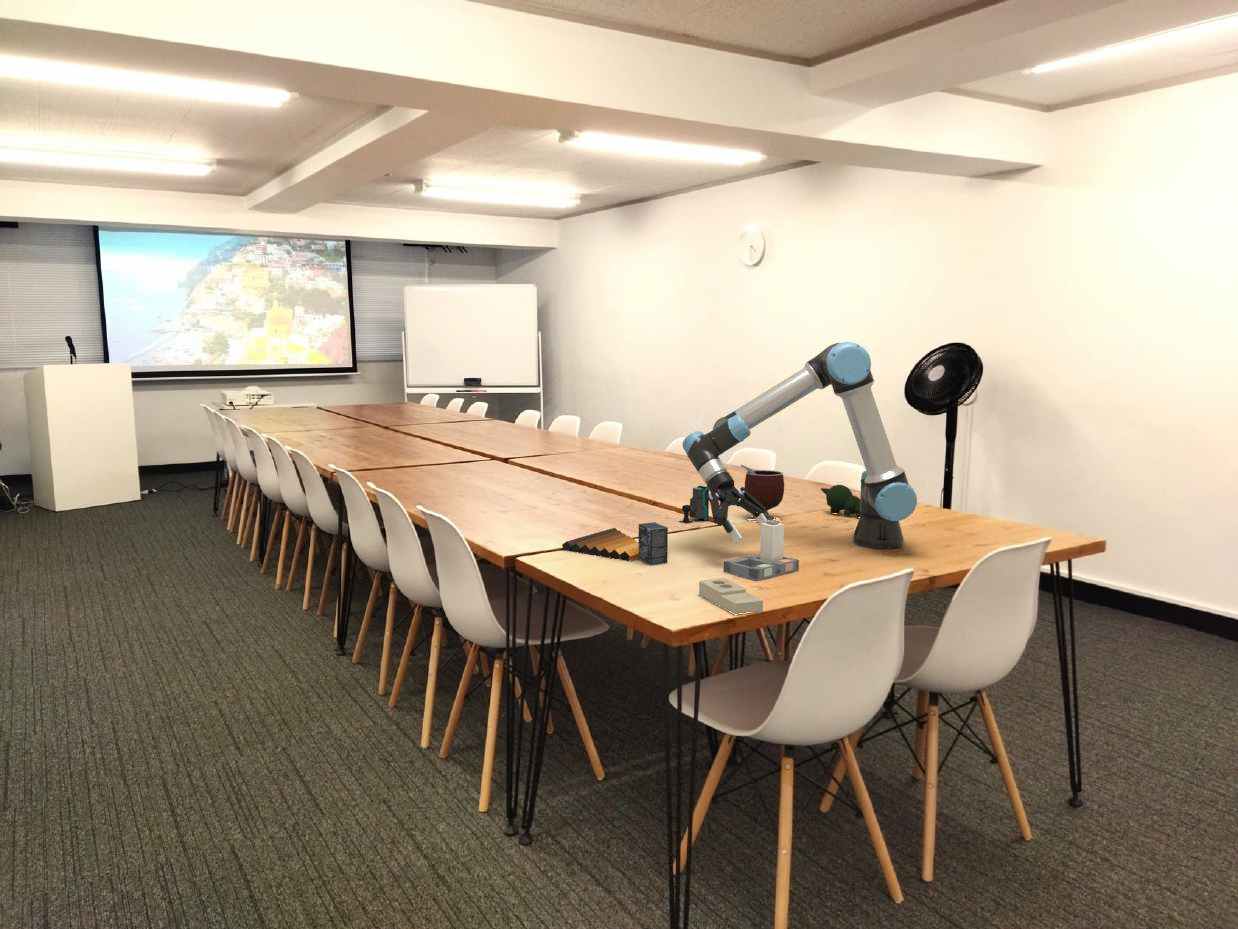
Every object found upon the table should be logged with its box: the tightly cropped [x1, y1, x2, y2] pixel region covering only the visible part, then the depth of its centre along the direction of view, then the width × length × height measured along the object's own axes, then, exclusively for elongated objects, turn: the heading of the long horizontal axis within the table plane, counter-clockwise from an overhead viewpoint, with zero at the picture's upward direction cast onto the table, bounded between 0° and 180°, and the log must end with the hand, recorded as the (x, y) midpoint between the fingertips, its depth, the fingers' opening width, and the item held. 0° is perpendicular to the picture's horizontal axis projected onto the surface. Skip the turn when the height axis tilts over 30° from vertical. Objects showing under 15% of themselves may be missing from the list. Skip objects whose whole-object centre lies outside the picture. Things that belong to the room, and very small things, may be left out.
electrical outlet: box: [698, 577, 764, 615], centre depth 204 cm, size 7×4×18 cm
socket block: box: [723, 552, 800, 582], centre depth 233 cm, size 17×12×3 cm
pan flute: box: [561, 527, 639, 562], centre depth 261 cm, size 25×3×25 cm
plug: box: [759, 520, 785, 562], centre depth 235 cm, size 4×4×13 cm
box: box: [638, 521, 669, 566], centre depth 244 cm, size 8×6×11 cm
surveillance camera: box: [678, 485, 710, 525], centre depth 302 cm, size 6×12×10 cm
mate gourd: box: [740, 464, 785, 521], centre depth 303 cm, size 16×14×20 cm
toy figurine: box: [820, 484, 860, 518], centre depth 311 cm, size 9×19×25 cm
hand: (755, 537), depth 239 cm, fingers open, 13 cm apart
